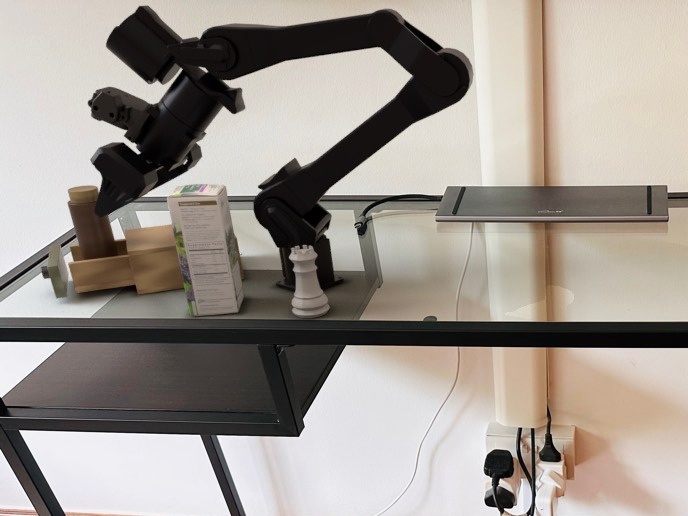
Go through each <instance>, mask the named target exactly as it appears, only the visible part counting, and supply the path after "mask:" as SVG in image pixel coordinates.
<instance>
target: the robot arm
mask: <svg viewBox="0 0 688 516" xmlns="http://www.w3.org/2000/svg"><path fill="white" fill-rule="evenodd" d="M105 48H106V49H107V50H108V51H109V52H111V53H112V54H113V55H114V56H115V57H116V58H117V59H119V60H120V61H121V62H122V63H123V64H124V65H126V66H127V67H128V68H129V69H130V70H131V71H132V72H134V73H135V74H136V75H137V76H138V77H139V78H141V79H142V80H143V81H144V82H145V83H146V84H148V85H153V84H154V83H156V82H158V83H159V84H161V86H164V85H167V84H168V83H169V82H170V81H172V80H173V79H174V77H175V76H176V75H177V74H178V73H179V74H178V75H177V76H176V78H175V79H174V80H173V82H172V83H171V84H170V86H169V87H168V88H167V90H166V91H165V92H164V94H163V95H162V97H161V98H160V100H159V101H158V102H156V103H150V102H148V101H147V100H145V99H142V98H140V97H138V96H136V95H134V94H131V93H129V92H127V91H124V90H122V89H120V88H117V87H115V86H106V87H102V88H99V89H96V90H95V92H93V94H92V97H91V98H90V99H88V100H87V105H88V107H89V108H90V112H91V114H90V116H91V118H92V119H94V120H95V121H98V122H101V121H102V122H105V123H107V124H109V125H110V126H111V125H112V126H114V127H116V128H118V129H121V130H123V131H126V132H125V133H124V134H123V137H124V138H125V139H126V140H128V141H129V142H130V143H131V144H135V145H136V146H135V149H136V150H137V151H138V152H139V153H137V152H136V151H135V150H134V149H132V148H131V147H130V146H129V145H127V144H126V143H125V142H124V141H123V142H122V141H120V142H119V141H117V142H115V141H113V142H109V143H107V144H105V145H102V146H100V147H98V148H97V149H96V150H95V152H94V154H93V155H92V156H91V157H90V159H89V160H90V162H91V165H93V167H94V168H95V169H96V171H98V173H99V175H100V176H101V183H100V188H99V194H98V198H97V201H96V205H95V208H94V213H95V214H96V215H98V216H99V217H101V218H102V217H104V216H106V215H108V216H109V215H110V214H111V213H114V212H115V211H117V210H120V209H122V208H123V207H126V206H127V205H129V204H131V203H133V202H135V201H137V200H139V199H140V198H142V197H144V196H146V195H148V193H149V192H152V191H153V190H155V189H157V188H159V187H161V186H163V185H165V184H167V183H169V182H171V181H172V180H175V179H176V178H179V177H180V176H182V175H183V174H185V173H187V172H189V170H191V169H193V168H194V167H196V165H197V164H198V163H199V162H200V160H201V159H202V158H203V152H202V148H201V146H200V145H199V144H198V142H200V141H202V140H204V138H205V137H206V135H207V132H206V130H207V129H208V127H209V126H210V124H211V123H212V122H214V120H215V118H216V117H217V116H218V114H219V113H220V112H221V111H222V109H223V108H225V109H226V110H227V111H228V112H229V113H231V114H232V115H237V114H238V113H239V114H240V113H241V112H243V111H245V110H246V104H245V101H244V98H243V88H242V87H240V86H239V87H231V86H230V85H228V83H226V81H234V80H237V79H241V78H242V77H245V76H248V75H251V74H253V73H256V72H259V71H263V70H266V69H267V68H270V67H273V66H276V65H279V64H283V63H284V62H288V61H294V60H295V61H296V60H302V59H309V58H315V57H322V56H328V55H329V56H330V55H335V54H336V55H337V54H343V53H350V52H356V51H362V50H369V49H377V48H379V49H382V50H383V51H384V52H385V53H387V54H388V55H389V56H390V57H391V58H392V59H393V60H394V61H395V62H396V63H397V64H398V65H400V66H401V68H403V69H404V70H405V71H406V72H407V73H408V74H410V75H411V77H410V78H409V79H408V80H407V81H406V83H405V84H404V85H403V86H402V88H401V89H400V90H399V91H398V92H397V94H396V95H395V96H394V97H393V98H392V99H390V100H389V101H388V102H387V103H386V104H384V105H383V106H382V107H380V109H378V110H377V111H376V112H374V113H373V114H372V115H370V116H369V117H368V118H367V119H366V120H364V121H363V122H362V123H360V124H359V125H358V126H356V127H355V128H354V129H353V130H352V131H350V132H349V133H348V134H347V135H345V136H344V137H342V139H340V140H339V141H338V142H336V143H335V144H334V145H333V146H331V147H330V148H329V149H327V150H326V151H325V152H324V153H322V154H321V155H320V156H319V157H317V158H316V159H315V160H313V161H311V162H309V163H306V164H305V165H302V166H301V164H300V163H299V160H298V159H297V158H296V157H293V158H292V159H291V160H289V161H288V162H287V163H285V164H284V165H283V166H281V167H280V169H279V170H278V171H277V172H276V173H273V174H271V176H269V177H268V178H266V179H265V180H264V181H262V182H261V183H260V184H259V185H257V188H258V189H259V190H261V191H259V192H258V193H257V194H256V196H255V197H254V199H253V202H252V204H253V214H254V217H255V219H256V221H257V222H258V223H259V226H261V227H262V228H264V229H265V230H267V232H268V234H269V236H270V238H271V239H272V241H273V243H274V245H275V247H276V248H278V252H279V258H280V259H279V260H280V265H281V270H282V271H281V272H282V276H283V278H282V279H279V280H276V281H275V286H277V287H278V288H282V289H285V290H290V291H293V292H295V291H296V275H295V272H294V271H293V268H294V263H293V262H292V261H291V260H290V259H289V256H290V255H291V253H292V252H291V248H295V246H299V247H300V249H303V245H307V249H309V246H313V250H314V252H315V253H316V254H317V255H318V256H317V257H316V259H315V265H316V266H317V269H316V274H317V279H318V282H319V286H320V288H321V290H324V289H327V288H330V287H332V286H335V285H338V284H340V283H343V282H345V277H344V276H340V275H336V274H335V270H334V263H333V255H332V247H331V240H330V238H328V237H327V235H326V234H325V232H326V231H329V229H330V226H331V221H332V217H333V215H332V213H331V212H329V211H328V210H327V209H326V208H325V207H324V206H323V205H321V203H319V202H320V200H321V199H322V198H323V197H324V196H325V195H326V194H327V193H328V191H329V190H330V188H332V187H333V186H335V185H336V184H337V183H338V182H340V181H341V180H342V179H344V178H345V177H346V176H348V175H349V174H350V173H352V172H353V171H354V170H355V169H356V168H358V167H359V166H361V165H362V164H363V163H364V162H366V161H367V160H368V159H369V158H370V157H372V156H374V155H375V154H376V153H377V152H378V151H380V150H381V149H382V148H384V147H385V146H386V145H388V144H389V143H390V142H391V141H393V140H394V139H396V137H398V136H400V135H401V134H402V133H403V132H404V131H406V130H407V129H408V128H409V127H412V125H414V124H415V123H418V122H420V121H422V120H424V119H427V118H429V117H431V116H434V115H436V114H438V113H440V112H441V111H444V110H446V109H447V108H449V107H451V106H454V105H456V104H457V103H459V102H461V100H462V99H463V98H464V97H466V95H467V93H468V92H469V90H470V88H471V86H472V85H473V80H474V69H473V64H472V63H471V61H470V59H469V57H468V56H467V55H466V54H465V53H464V52H462V51H460V50H459V49H457V48H454V47H453V48H452V47H443V46H442V45H441V44H440V43H439V42H437V41H436V40H434V39H433V38H432V37H431V36H429V35H427V34H426V33H425V32H423V31H421V30H420V29H418V27H416V26H415V25H413V24H412V23H410V22H409V21H408V20H406V19H405V18H404V17H403V15H402V14H400V12H399V11H397V10H395V9H394V8H393V9H392V8H381V9H377V10H375V11H373V12H370V13H363V14H362V13H361V14H357V15H350V16H343V17H337V18H331V19H330V18H329V19H324V20H317V21H310V22H303V23H297V24H291V25H270V24H260V23H259V24H258V23H228V24H227V23H226V24H220V25H216V26H214V25H213V26H210V27H209V28H206V29H205V30H204V31H202V34H201V36H200V38H199V37H198V36H193V37H188V38H182V37H181V36H180V35H179V34H178V33H177V32H176V31H175V30H174V29H172V28H171V27H170V26H169V25H168V24H167V23H166V22H164V20H163V19H162V18H161V17H160V16H159V14H158V13H157V12H156V11H155V10H154V9H153V8H152V7H151V6H149V5H138V6H137V8H136V9H135V11H134V12H133V13H131V14H130V15H129V16H127V17H126V18H125V19H124V20H123V21H122V22H121V23H120V24H119V25H116V26H114V27H113V29H112V30H111V32H110V33H109V35H108V37H107V39H106V42H105ZM203 69H205V70H206V71H205V70H203ZM180 70H181V71H180ZM179 71H180V72H179Z"/></svg>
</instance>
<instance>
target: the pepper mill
mask: <svg viewBox="0 0 688 516" xmlns="http://www.w3.org/2000/svg"><path fill="white" fill-rule="evenodd" d="M99 191H100V189H99V187H98V186H97V185H79V186H73V187H70V188H68V189H67V193H68V197H69V200H68V201H67V207H68V210H69V214H70V218H71V221H72V225H73V229H74V233H75V236H76V240H77V244H79V247H80V251H81V254H82V258H83V260H91V259H99V258H107V257H114V256H119V255H118V251H117V247H116V243H115V240H116V239H115V236H114V232H113V231H114V230H113V228H112V224H111V220H110V215H109V214H108V215H106V216H104V217H102V218H101V217H99V216H98V215H96V214H95V213H94V208H95V205H96V201H97V198H98V194H99Z"/></svg>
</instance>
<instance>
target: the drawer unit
mask: <svg viewBox="0 0 688 516" xmlns="http://www.w3.org/2000/svg"><path fill="white" fill-rule="evenodd" d="M124 235H125V239H126V244H127V252H128V256H129V260H130V264H131V268H132V272H133V276H134V280H135V284H136V285H135V289H136V292H137V295H144V294H150V293H158V292H159V293H160V292H165V291H172V290H173V291H174V290H179V289H185V288H184V282H183V277H182V273H181V268H180V263H179V258H178V253H177V248H176V242H175V238H174V233H173V228H172V223H171V224H163V225H154V226H146V227H137V228H130V229H129V228H128V229H124ZM234 236H235V242H236V248H237V254H238V261H239V267H240V272H241V278H242V280H245V275H244V270H243V264H242V259H241V254H240V249H239V243H238V237H237V236H236V234H235V233H234Z"/></svg>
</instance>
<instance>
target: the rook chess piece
mask: <svg viewBox="0 0 688 516" xmlns="http://www.w3.org/2000/svg"><path fill="white" fill-rule="evenodd" d="M291 252H292V253H291V255H290V256H289V259H290V260H291V261H292V262H293V263H294V268H293V271H294V272H295V275H296V291H294V293H293V298H292V299H291V305H292V307H293V308H292V309H291V311H292V313H293V315H295V316H296V317H298V318H301V319H314V318H319V317H323V316H325V315H326V314H327V313H328V311H329V310H330V308H331V307H330V305H329V304H328V302H329V299H328V297H327V295H326V294H325V293H324V291H323V290H324V289H322V290H321V288H320V286H319V282H318V279H317V274H316V269H317V266H316V265H315V259H316V257H317V256H318V255H317V254H316V253H315V252H314V250H313V246H309V249H307V245H303V249H300V247H299V246H295V248H291Z"/></svg>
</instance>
